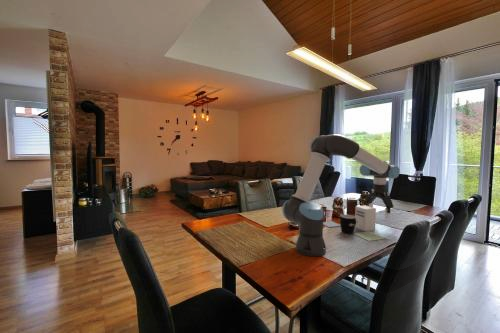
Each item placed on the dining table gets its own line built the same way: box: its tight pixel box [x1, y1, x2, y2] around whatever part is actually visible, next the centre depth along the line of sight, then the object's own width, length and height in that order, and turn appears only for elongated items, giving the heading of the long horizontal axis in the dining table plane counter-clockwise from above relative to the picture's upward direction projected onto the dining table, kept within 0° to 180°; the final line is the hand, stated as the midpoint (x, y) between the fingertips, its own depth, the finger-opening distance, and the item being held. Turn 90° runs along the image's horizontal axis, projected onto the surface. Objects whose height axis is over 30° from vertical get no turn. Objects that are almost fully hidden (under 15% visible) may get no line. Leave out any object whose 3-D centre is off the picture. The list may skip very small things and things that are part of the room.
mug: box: [339, 214, 356, 235], centre depth 148 cm, size 12×9×10 cm
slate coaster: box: [323, 220, 341, 228], centre depth 163 cm, size 10×10×1 cm
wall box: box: [354, 205, 377, 232], centre depth 155 cm, size 9×9×14 cm
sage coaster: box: [353, 231, 386, 242], centre depth 140 cm, size 12×12×1 cm
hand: (378, 215), depth 158 cm, fingers open, 13 cm apart
